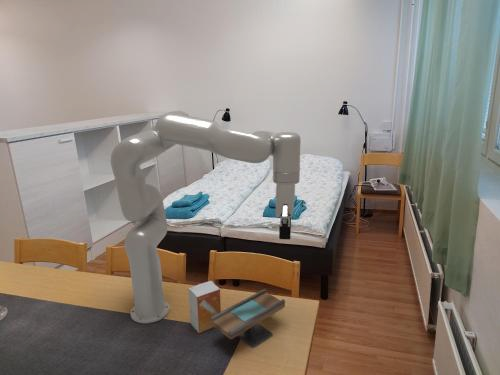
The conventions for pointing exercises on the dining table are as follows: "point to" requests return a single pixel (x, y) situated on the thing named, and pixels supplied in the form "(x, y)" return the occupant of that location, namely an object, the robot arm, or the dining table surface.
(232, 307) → the brown flat channel
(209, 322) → the small box
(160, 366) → the dining table surface
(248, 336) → the pivot stand
